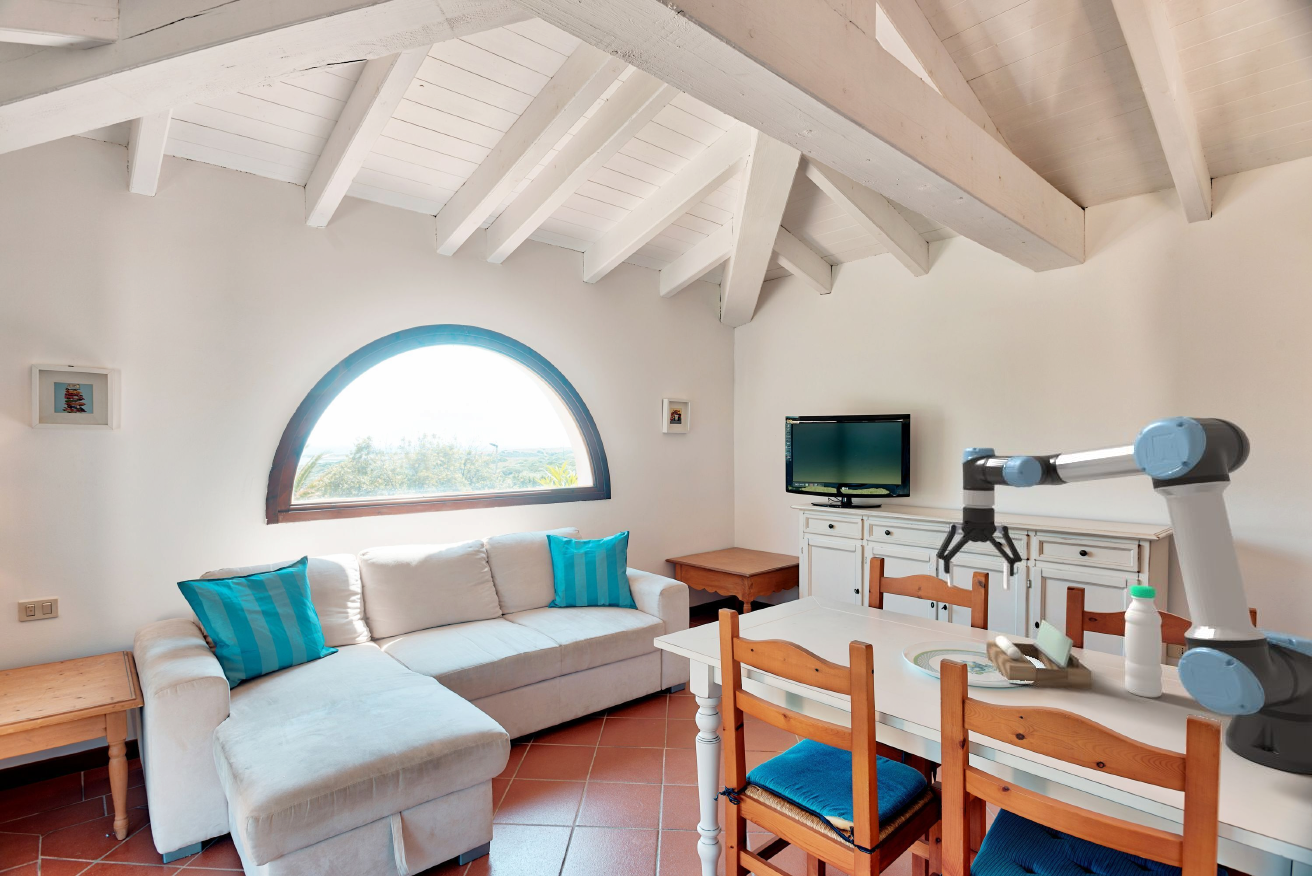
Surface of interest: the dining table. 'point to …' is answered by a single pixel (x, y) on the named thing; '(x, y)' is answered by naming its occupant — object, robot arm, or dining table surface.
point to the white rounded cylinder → (1008, 647)
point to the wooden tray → (1045, 677)
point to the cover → (1053, 644)
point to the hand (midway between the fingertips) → (978, 587)
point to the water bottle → (1143, 644)
